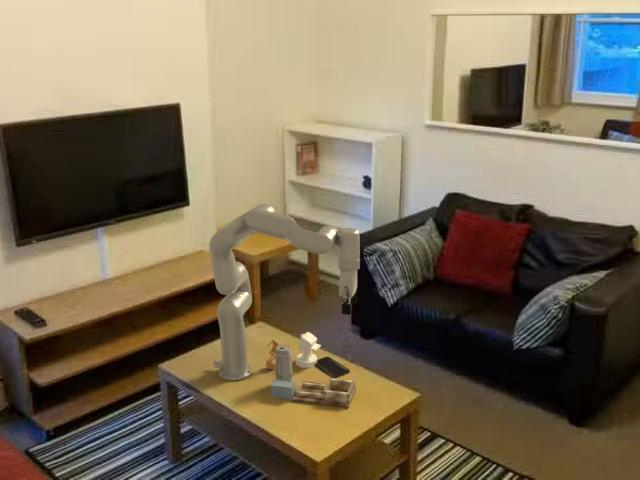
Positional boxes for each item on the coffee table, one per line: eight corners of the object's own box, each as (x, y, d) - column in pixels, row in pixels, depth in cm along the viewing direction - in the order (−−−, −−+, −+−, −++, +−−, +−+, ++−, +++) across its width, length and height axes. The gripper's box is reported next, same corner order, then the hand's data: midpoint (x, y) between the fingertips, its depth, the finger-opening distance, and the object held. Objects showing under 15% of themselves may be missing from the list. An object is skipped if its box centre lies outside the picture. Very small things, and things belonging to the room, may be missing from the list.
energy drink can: (294, 386, 261) (293, 350, 257) (278, 389, 260) (277, 352, 255) (290, 379, 267) (289, 343, 262) (274, 381, 265) (273, 345, 260)
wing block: (271, 397, 254) (270, 385, 253) (274, 392, 258) (273, 379, 257) (292, 400, 253) (292, 387, 251) (295, 394, 256) (295, 382, 255)
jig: (292, 401, 252) (291, 390, 250) (302, 383, 263) (301, 372, 262) (348, 408, 247) (348, 396, 245) (355, 389, 259) (355, 378, 257)
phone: (327, 356, 282) (351, 370, 271) (327, 358, 283) (351, 373, 271) (311, 361, 278) (334, 376, 266) (311, 364, 278) (334, 379, 267)
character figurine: (301, 355, 284) (301, 328, 281) (323, 360, 281) (322, 332, 277) (291, 365, 277) (291, 337, 273) (313, 370, 273) (313, 342, 269)
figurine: (260, 366, 277) (259, 338, 273) (273, 361, 280) (272, 334, 276) (272, 374, 270) (271, 346, 267) (285, 369, 274) (284, 341, 270)
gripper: (343, 254, 255) (343, 298, 260) (332, 271, 239) (333, 317, 244) (364, 256, 253) (364, 300, 258) (354, 272, 237) (354, 319, 242)
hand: (349, 308), depth 251 cm, fingers open, 9 cm apart
